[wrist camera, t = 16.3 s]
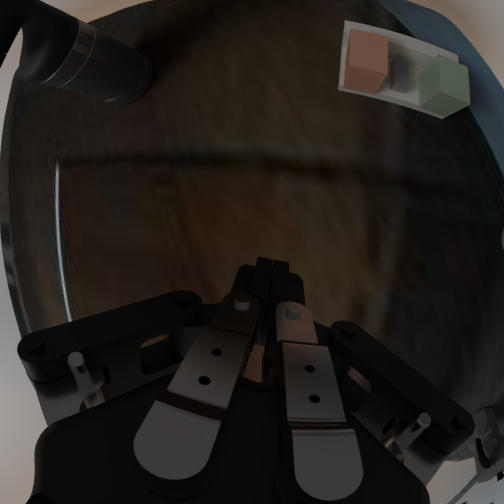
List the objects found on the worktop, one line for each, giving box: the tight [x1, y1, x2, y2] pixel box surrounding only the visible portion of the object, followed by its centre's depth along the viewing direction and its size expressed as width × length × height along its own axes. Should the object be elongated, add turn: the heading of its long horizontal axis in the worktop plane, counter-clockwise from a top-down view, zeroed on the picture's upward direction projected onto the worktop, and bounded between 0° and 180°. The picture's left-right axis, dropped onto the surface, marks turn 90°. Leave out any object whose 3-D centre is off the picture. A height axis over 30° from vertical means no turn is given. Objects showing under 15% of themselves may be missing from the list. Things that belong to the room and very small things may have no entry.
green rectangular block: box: [419, 54, 470, 117], centre depth 22 cm, size 4×5×7 cm
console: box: [338, 21, 459, 119], centre depth 25 cm, size 15×8×6 cm, turn 82°
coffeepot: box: [465, 407, 504, 483], centre depth 26 cm, size 15×9×18 cm, turn 57°
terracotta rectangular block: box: [343, 29, 388, 95], centre depth 24 cm, size 4×5×7 cm
